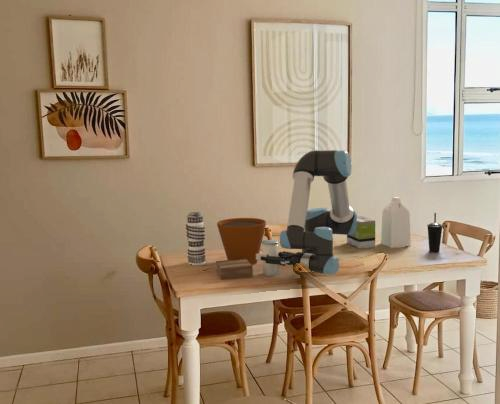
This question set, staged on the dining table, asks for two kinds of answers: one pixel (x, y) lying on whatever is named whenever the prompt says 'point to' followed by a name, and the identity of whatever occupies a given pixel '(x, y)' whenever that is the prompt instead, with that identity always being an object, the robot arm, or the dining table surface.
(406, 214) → the milk
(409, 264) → the dining table surface
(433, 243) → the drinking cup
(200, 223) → the striped cylindrical tower
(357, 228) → the tea box
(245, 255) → the flower pot
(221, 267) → the pedestal
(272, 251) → the glass jar
